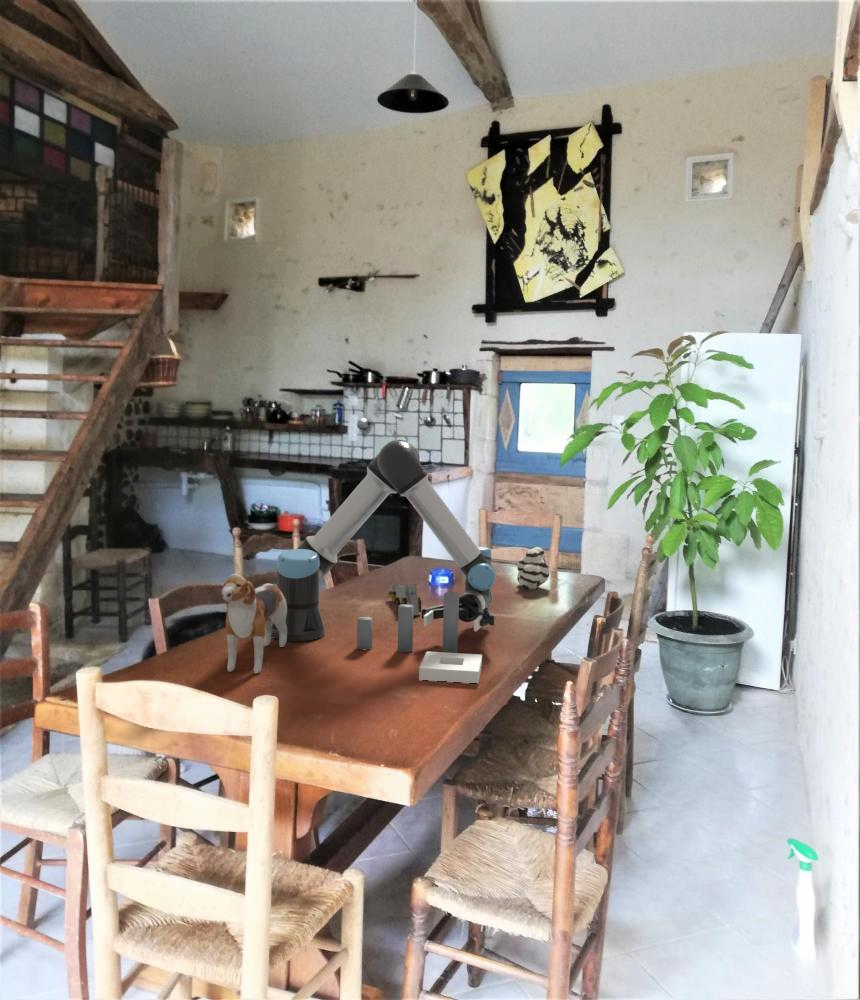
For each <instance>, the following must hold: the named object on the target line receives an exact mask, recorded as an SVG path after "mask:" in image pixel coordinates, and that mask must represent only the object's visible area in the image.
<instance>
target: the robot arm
mask: <svg viewBox="0 0 860 1000" xmlns="http://www.w3.org/2000/svg"><path fill="white" fill-rule="evenodd" d="M428 479H429V474H428V473H427V471H426V470H425V469H424V467H423V465H422V463H421V461H420V455H419V452H418V450H417V448H416V447H415V446H414V445H413V444H412V443H410V442H409V441H407V440H404V439H393V440H391V441H389V442H387V443H386V444H384V445H383V447H382V448H381V449H380V451H379V452H378V453H377V454H376V456H375V457H374V458H373V460H371V462H370V463H369V464H368V465H367V466H366V475H365V477H364V478H363V479H362V480H361V481H360V483H359V484H358V485H356V487H355V488H354V489H353V491H352V492H351V493H350V494H349V495H348V497H347V498H346V499H345V500H344V501H343V502H342V503H341V505H339V506H338V508H337V509H336V511H334V512H333V514H332V515H330V517H329V519H328V520H327V521H326V522H325V523H324V524H323V526H322V527H321V528H320V529H319V530H318V531H317V532H316V534H315V535H310V536H309V535H308V536H306V537H305V539H304V540H303V541H302V542H301V543H300V544H299V545H298V547H296V548H294V549H289V550H285V551H282V552H281V553H279V555H278V556H277V563H276V587H278V588H279V589H280V590H281V591H282V592H283V594H284V596H285V599H286V603H287V615H286V626H287V641H286V642H308V640H309V641H314V639H315V640H319V639H321V638H323V637H324V636H325V631H326V630H325V629H326V627H325V626H326V625H325V624H324V620H323V618H322V614H321V611H320V607H319V606H320V583H321V582H322V580H323V579H324V578H325V576H326V575H327V574H328V573H329V572H330V571H331V570H332V568H333V567H334V566H335V565H336V564H337V563H338V554H339V553H340V551H341V550H342V549H343V548H344V547H345V545H346V544H347V543H349V541H350V540H351V539H352V537H353V536H355V534H356V533H357V532H358V530H359V529H360V528H361V527H362V526H363V525H364V523H365V522H366V521H368V519H369V518H370V517H371V516H372V515H373V514H374V512H375V511H376V510H377V509H378V508H379V506H380V505H381V504H382V503H383V502H384V501H385V499H387V497H388V496H389V495H390V494H399V495H400V497H405V498H407V500H408V501H409V502H410V504H411V505H412V506H413V508H414V509H415V511H416V512H417V513H418V515H419V516H420V518H421V519H422V520H423V522H425V524H426V525H427V526H428V528H429V530H431V532H432V534H433V535H434V536H435V537H436V539H437V540H438V541H439V542H440V544H441V545H442V547H443V548H444V549H445V550H446V552H447V553H448V554H449V556H450V557H451V558H452V559H453V561H454V563H455V564H456V565H457V567H458V568H459V569H460V571H461V572H462V574H463V575H464V576H465V582H464V593H463V594H462V595H460V596H459V621H461V622H463V623H464V622H465V623H471V622H473V632H478V630H480V628H481V627H486V626H487V625H489V626H493V627H494V625H495V615H494V614H493V613H492V612H491V611H490V606H491V603H492V602H493V596H494V595H493V591H492V590H491V587H492V586H493V585H494V583H495V581H496V571H495V568H493V566H492V559H493V558H492V550H491V548H489V547H485V546H478V545H476V544H475V542H474V541H473V540H472V538H471V537H470V535H469V533H467V532H466V530H465V528H464V527H463V526H462V524H461V523H460V522H459V520H458V519H457V518H456V517H455V515H454V514H453V512H452V511H451V510H450V508H449V507H448V506H447V505H446V503H445V502H444V500H443V498H441V496H440V495H439V493H438V491H436V489H435V487H433V486H432V484H431V483H430V481H429V480H428ZM443 613H444V603H441V604H438V605H434V606H429V607H425V608H421V619H423V627H427V626H429V625H430V624H431V623H432V622H434V620H437V619H438V620H439V619H443ZM271 627H272V634H271V636H272V637H274V638H277V639H279V631H278V629H277V628H276V626H275V624H274V623H273V622H272V623H271ZM272 637H271V638H272ZM274 638H273V639H274ZM277 639H276V640H277Z"/></svg>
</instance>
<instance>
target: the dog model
mask: <svg viewBox="0 0 860 1000" xmlns="http://www.w3.org/2000/svg"><path fill="white" fill-rule="evenodd" d="M254 586H255V585H254V584H253V583H252V582H251V581H249V580H247V579H246V578H244V576H242V575H240V574H239V573H232V574H230V575H229V576H228V577H227V578H226V579H225V581H224V584H223V586H222V589H221V593H220V594H221V597H222V599H223V601H224V603H226V604H227V613H226V616H225V617H226V618H225V630H226V641H227V660H228V662H227V664H226V665H227V666H226V668H227V672H228V673H231V672H233V671H234V670H235V668H236V663H237V656H238V655H237V654H238V653H237V652H238V641H239V638H241V639H243V638H248V637H250V636H252V641H253V653H254V654H253V655H254V656H253V657H254V666H253V674H255V675H257V673H258V674H260V673H261V671H262V666H263V660H264V647H265V646H267V647H269V646H270V644H271V642H272V637H271V634H272V627H271V624H272V623H271V621H272V622H273V623H274V624H275V626H276V628H277V629H278V631H279V640H278V645H279V648H280V647H283V648H284V647H285V646H286V644H287V642H288V641H287V626H286V615H287V603H286V599H285V596H284V594H283V592H282V591H281V590H280V589H279V588H278V587H277V585H275V584H272V583H269V582H268V583H264V584H260V586H257V587H254ZM268 645H269V646H268Z"/></svg>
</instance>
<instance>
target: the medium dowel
mask: <svg viewBox="0 0 860 1000" xmlns="http://www.w3.org/2000/svg"><path fill="white" fill-rule="evenodd" d="M397 608H398V610H397V611H398V612H397V613H398V614H397V619H398V620H397V652H399V653H403V652H408V653H412V652H413V651H412V650H414V649H413V648H414V647H413V645H414V644H413V643H414V616H413V613H414V606H413V605H407V604H404V605H401V604H399V605H398V607H397ZM411 651H412V652H411Z"/></svg>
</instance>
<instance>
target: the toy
mask: <svg viewBox="0 0 860 1000" xmlns="http://www.w3.org/2000/svg"><path fill="white" fill-rule="evenodd" d="M417 593H418V592H417V583H415V582H412V583H411V585H409V583H403V585H400V584H399V582H398V583H396V582H395V583H392V585H390V586H389V591H388V598H391V600H392V601H394V603H397V604H398V603H400V605H404V604H407V605H413V606H414V613H413V617H414V616H419V615H420V613H422V600H421V597H420V596H418V594H417Z"/></svg>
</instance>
